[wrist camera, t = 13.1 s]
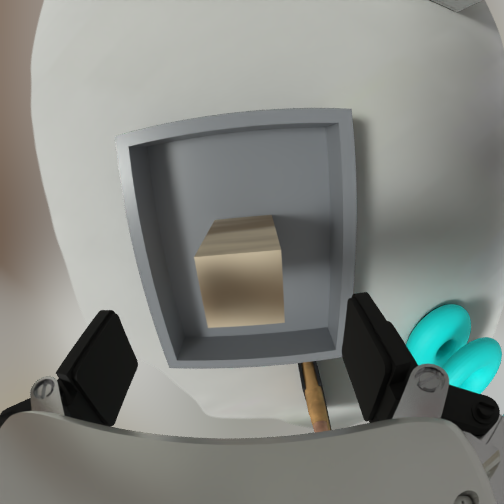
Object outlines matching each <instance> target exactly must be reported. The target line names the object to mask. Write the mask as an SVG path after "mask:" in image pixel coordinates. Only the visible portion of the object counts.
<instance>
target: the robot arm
mask: <svg viewBox="0 0 504 504" xmlns="http://www.w3.org/2000/svg"><path fill="white" fill-rule="evenodd" d="M342 357H343V360H344V363H345V366H346V368H347V371H348V374H349V377H350V380H351V382H352V385H353V388H354V391H355V394H356V397H357V400H358V403H359V406H360V409H361V412H362V415H363V418H364V420H365V421H369V422H370V423H367V424H362V425H357V426H352V427H347V428H341V429H335V430H329V431H322V432H315V433H308V434H300V435H291V436H280V437H267V438H245V439H244V438H241V439H215V438H192V437H178V436H168V435H158V434H151V433H143V432H136V431H130V430H125V429H119V428H114V427H111V426H113V425H114V424H115V421H116V419H117V416H118V413H119V411H120V408H121V406H122V403H123V401H124V398H125V396H126V393H127V391H128V389H129V386H130V384H131V381H132V379H133V377H134V374H135V372H136V370H137V367H138V362H137V359H136V357H135V354H134V352H133V350H132V348H131V345H130V343H129V341H128V338H127V336H126V334H125V331H124V329H123V326H122V324H121V321H120V319H119V316H118V315H117V314H115V312H114V311H112V310H101V311H99V313H98V314H97V315H96V316H95V318H94V319H93V320H92V322H91V323H90V324H89V326H88V327H87V329H86V330H85V331H84V333H83V334H82V335H81V337H80V338H79V340H78V341H77V343H76V344H75V345H74V347H73V348H72V350H71V351H70V352H69V354H68V355H67V357H66V358H65V360H64V361H63V363H62V364H61V366H60V367H59V369H58V370H57V372H56V374H57V376H58V377H59V379H58V380H56V379H55V378H54V377H51V376H46V377H43V378H41V379H39V380H37V381H36V383H34V385H33V386H32V388H31V392H30V396H31V398H29V399H27V400H25V401H23V402H20V403H18V404H16V405H14V406H11V407H9V408H7V409H6V410H4V411H2V413H1V415H0V504H504V415H503V416H501V415H500V414H499V411H500V410H499V407H498V405H497V403H496V402H495V401H494V400H493V399H492V398H490V397H488V396H485V395H482V394H478V393H475V392H472V391H468V390H465V389H462V388H459V387H456V386H453V385H450V384H449V377H448V374H447V373H446V371H445V370H444V369H442V368H441V367H440V366H437V365H435V364H429V363H428V364H422V365H419V366H418V364H417V362H416V361H415V359H414V357H413V356H412V354H411V352H410V351H409V349H408V348H407V346H406V345H405V343H404V341H403V340H402V338H401V337H400V335H399V334H398V332H397V331H396V329H395V328H394V326H393V324H392V323H391V322H389V321H386V319H385V318H384V316H383V315H382V313H381V312H380V310H379V309H378V307H377V306H376V304H375V303H374V301H373V300H372V298H371V297H370V295H369V294H368V293H367V292H364V293H356V294H353V295H352V298H349V299H348V301H347V311H346V320H345V329H344V336H343V344H342Z"/></svg>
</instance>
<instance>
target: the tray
mask: <svg viewBox="0 0 504 504" xmlns="http://www.w3.org/2000/svg"><path fill="white" fill-rule="evenodd" d="M115 142H116V152H117V160H118V168H119V175H120V182H121V188H122V194H123V200H124V206H125V211H126V217H127V222H128V227H129V231H130V236H131V241H132V245H133V250H134V254H135V258H136V262H137V266H138V270H139V274H140V278H141V281H142V285H143V289H144V292H145V296H146V299H147V303H148V306H149V309H150V313H151V316H152V319H153V322H154V325H155V328H156V331H157V334H158V337H159V340H160V343H161V346H162V349H163V351H164V354H165V357H166V360H167V362H168V365H169V368H240V367H258V366H272V365H284V364H294V363H303V362H311V361H319V360H326V359H333V358H340V357H342V344H343V336H344V329H345V320H346V311H347V301H348V299H349V298H352V295H353V288H354V274H355V257H356V226H357V191H356V161H355V144H354V131H353V119H352V109H341V108H293V109H272V110H257V111H246V112H236V113H227V114H220V115H212V116H205V117H199V118H193V119H187V120H181V121H176V122H171V123H166V124H161V125H157V126H152V127H148V128H143V129H139V130H135V131H131V132H128V133H124V134H120V135H116V136H115ZM262 215H272V218H273V221H274V225H275V229H276V232H277V236H278V240H279V244H280V247H281V256H282V274H283V294H284V316H285V323H276V324H264V325H251V326H235V327H215V328H208V325H207V321H206V316H205V311H204V306H203V301H202V296H201V291H200V286H199V281H198V276H197V271H196V265H195V260H194V256H195V255H196V253H197V251H198V249H199V247H200V245H201V244H202V242H203V240H204V238H205V236H206V235H207V233H208V231H209V229H210V227H211V226H212V224H213V222H214V220H219V219H229V218H240V217H251V216H262Z"/></svg>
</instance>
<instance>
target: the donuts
mask: <svg viewBox="0 0 504 504" xmlns="http://www.w3.org/2000/svg"><path fill="white" fill-rule="evenodd" d="M470 332H471V320H470V316H469V314H468V312H467V311H466V310H465V309H464V308H463V307H461V306H459V305H455V304H448V305H444V306H441V307H439V308H437V309H435V310H433V311H432V312H430V313H429V314H428V315H426V316H425V317H424V318H423V319H422V320H421V321H420V322H419V323H418V324H417V326H416V327H415V328H414V330H413V331H412V333H411V335H410V337H409V339H408V341H407V344H406V346H407V348H408V349H409V351H410V352H411V354H412V356H413V357H414V359H415V361H416V362H417V364H418V366H419V365H422V364H428V363H429V364H435V365H437V366H440V367H441V368H442V369H444V370H445V371H446V373H447V374H448V377H449V384H450V385H453V386H456V387H459V388H462V389H465V390H468V391H472V392H475V393H478V394H481V393H482V392H483V391H484V390H485V388H486V387H487V386H488V385H489V383H490V382H491V381H492V379H493V378H494V376H495V374H496V373H497V371H498V368H499V366H500V363H501V357H502V352H501V347H500V345H499V343H498V342H497V341H496V340H494V339H492V338H488V337H485V338H479V339H476V340H473V341H471V342H469V343H467V342H468V339H469V336H470Z"/></svg>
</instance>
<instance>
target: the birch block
mask: <svg viewBox="0 0 504 504" xmlns="http://www.w3.org/2000/svg"><path fill="white" fill-rule="evenodd" d="M194 260H195V265H196V271H197V276H198V281H199V286H200V291H201V296H202V301H203V306H204V311H205V316H206V321H207V325H208V328H215V327H235V326H251V325H264V324H276V323H285V316H284V294H283V274H282V256H281V247H280V244H279V240H278V236H277V232H276V229H275V225H274V221H273V218H272V215H262V216H251V217H240V218H229V219H219V220H214V222H213V224H212V226H211V227H210V229H209V231H208V233H207V235H206V236H205V238H204V240H203V242H202V244H201V245H200V247H199V249H198V251H197V253H196V255H195V256H194Z"/></svg>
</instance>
